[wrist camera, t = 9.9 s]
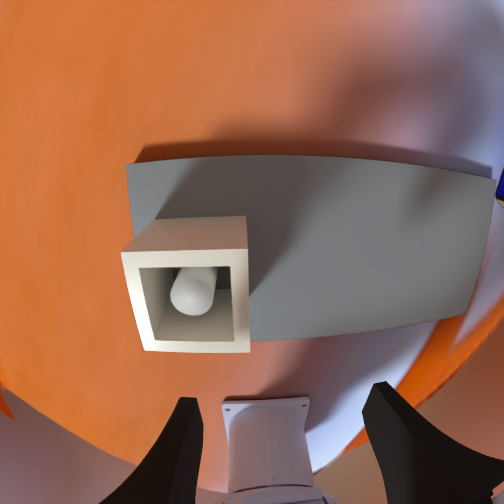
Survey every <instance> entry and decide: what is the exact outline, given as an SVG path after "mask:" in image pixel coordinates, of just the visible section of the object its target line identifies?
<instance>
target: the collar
mask: <svg viewBox="0 0 504 504" xmlns="http://www.w3.org/2000/svg"><path fill="white" fill-rule="evenodd" d="M121 257H122V262H123V267H124V272H125V277H126V281H127V286H128V290H129V294H130V299H131V303H132V307H133V311H134V315H135V318H136V322H137V326H138V329H139V333H140V336H141V340H142V343H143V346H144V350H149V351H166V352H195V353H240V352H250V325H249V278H248V242H247V225H246V216H222V217H194V218H172V219H154V220H153V221H152V222H151V223H150V224H149V225H148V226H147V227H146V228H145V229H144V230H143V231H142V232H141V233H140V234H139V235H138V236H136V237H135V238H134V239H133V240H132V241H131V242H130V243H129V244H128V245H127V246H126V247H125V248H124V249H123V250H122V251H121ZM210 266H230V271H231V289H215V291H214V297H213V303H212V306H211V307H210V309H209V310H208V311H207V312H205V313H204V314H201V315H197V316H191V315H187V314H184V313H182V312H180V311H179V310H178V309H176V308H175V306H174V305H173V303H172V301H171V297H170V293H171V289H172V287H173V284H174V280H173V273H172V267H210Z"/></svg>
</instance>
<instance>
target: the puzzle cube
mask: <svg viewBox="0 0 504 504" xmlns="http://www.w3.org/2000/svg"><path fill="white" fill-rule="evenodd" d="M496 199H497V200H498V201H499V203H500V204H501V205H502V206H503V207H504V171H503V175H502V178H501V181H500V183H499V186H498V189H497V192H496Z"/></svg>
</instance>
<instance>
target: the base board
mask: <svg viewBox="0 0 504 504" xmlns="http://www.w3.org/2000/svg"><path fill="white" fill-rule="evenodd" d="M126 169H127V181H128V192H129V201H130V209H131V217H132V225H133V232H134V238H135V237H136V236H138V235H139V234H140V233H141V232H142V231H143V230H144V229H145V228H146V227H147V226H148V225H149V224H150V223H151V222H152V221H153V220H154V219H172V218H194V217H222V216H246V225H247V242H248V278H249V325H250V341H271V340H289V339H303V338H315V337H326V336H336V335H345V334H354V333H362V332H370V331H377V330H384V329H390V328H397V327H403V326H409V325H414V324H420V323H425V322H431V321H436V320H440V319H445V318H450V317H454V316H459V315H463V314H466V311H467V308H468V305H469V303H470V300H471V297H472V294H473V291H474V287H475V284H476V281H477V278H478V274H479V271H480V267H481V263H482V259H483V255H484V251H485V247H486V243H487V238H488V233H489V228H490V223H491V217H492V211H493V204H494V196H495V188H496V180H493V179H490V178H487V177H482V176H478V175H473V174H468V173H463V172H458V171H453V170H447V169H442V168H436V167H429V166H423V165H416V164H409V163H401V162H392V161H383V160H374V159H363V158H350V157H335V156H315V155H226V156H206V157H191V158H178V159H167V160H156V161H147V162H139V163H132V164H128V165H126ZM172 273H173V280H174V284H173V287H172V289H171V293H170V297H171V301H172V303H173V305H174V306H175V308H176V309H178V310H179V311H180V312H182V313H184V314H187V315H191V316H197V315H201V314H204V313H205V312H207V311H208V310H209V309H210V307H211V306H212V303H213V297H214V291H215V289H231V271H230V266H210V267H172Z"/></svg>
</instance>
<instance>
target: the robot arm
mask: <svg viewBox="0 0 504 504" xmlns="http://www.w3.org/2000/svg"><path fill="white" fill-rule="evenodd" d="M309 405H310V398H309V397H296V398H284V399H269V400H245V401H224V402H222V411H223V417H224V423H225V428H226V434H227V440H228V445H229V454H228V493H225V502H217V503H216V504H339V502H338V501H337V500H336V499H335V498H333V497H332V496H331V495H329V494H322V492H321V487H320V486H317V487H315V484H314V479H313V473H312V468H311V463H310V457H309V452H308V447H307V442H306V437H305V431H304V427H305V422H306V418H307V414H308V409H309ZM362 415H363V419H364V424H365V428H366V432H367V434H368V437H369V440H370V442H371V445H372V448H373V450H374V453H375V456H376V458H377V461H378V464H379V466H380V469H381V473H382V476H383V480H384V485H385V490H386V495H387V502H388V504H504V490H503V491H502V492H501V493H500V494H498V495H497V496H496V497H494V498H493V499H491V496H492V495H493V491H492V490H493V489H494V488H495V487H497V486H498V485H499V484H500V483H502V482H503V481H504V460H500V459H496V458H493V457H489V456H486V455H484V454H481V453H479V452H476V451H474V450H472V449H470V448H468V447H466V446H464V445H462V444H460V443H458V442H456V441H455V440H453V439H452V438H450V437H449V436H447V435H446V434H444V433H443V432H441V431H440V430H439V429H437V428H436V427H435V426H433V425H432V424H431V423H430V422H428V421H427V420H426V419H425V418H424V417H423V416H422V415H420V414H419V413H418V412H417V411H416V410H415V409H414V408H413V407H412V406H411V405H410V404H409V403H408V402H407V401H406V400H405V399H404V398H403V397H402V396H401V395H400V394H399V393H398V392H397V391H396V390H395V389H394V388H393V387H392V386H390V385H389V384H388V383H387V382H386V381H384V382H379V383H375V384H373V386H372V389H371V391H370V394H369V396H368V398H367V401H366V403H365V405H364V408H363V410H362ZM203 425H204V424H203V421H202V417H201V413H200V410H199V406H198V402H197V398H191V397H181V398H179V400H178V402H177V405H176V407H175V409H174V411H173V413H172V415H171V417H170V418H169V420H168V422H167V424H166V426H165V427H164V429H163V431H162V432H161V434H160V436H159V437H158V439H157V441H156V442H155V444H154V445H153V446H152V448H151V449H150V451H149V452H148V454H147V455H146V456H145V458H144V459H143V460H142V462H141V463H140V464H139V465H138V467H137V468H136V469H135V470H134V471H133V473H132V474H131V475H130V476H129V477H128V478H127V479H126V480H125V481H124V482H123V483H122V484H121V485H120V486H119V487H118V488H117V489H116V490H115V491H114V492H112V493H111V494H110V495H109V496H107V498H105V499H104V500H103V501H101V502H100V503H99V504H195V495H196V486H197V480H198V473H199V467H200V461H201V454H202V448H203Z"/></svg>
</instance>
